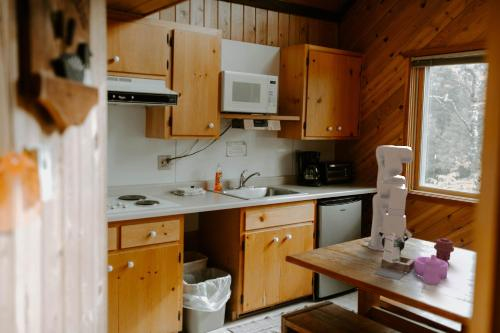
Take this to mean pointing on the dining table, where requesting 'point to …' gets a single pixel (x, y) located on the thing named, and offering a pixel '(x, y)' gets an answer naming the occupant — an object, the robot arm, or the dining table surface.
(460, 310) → the dining table surface
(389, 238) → the syrup box
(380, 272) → the rubber mat
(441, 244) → the mechanical component
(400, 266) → the socket collar
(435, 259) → the container set
